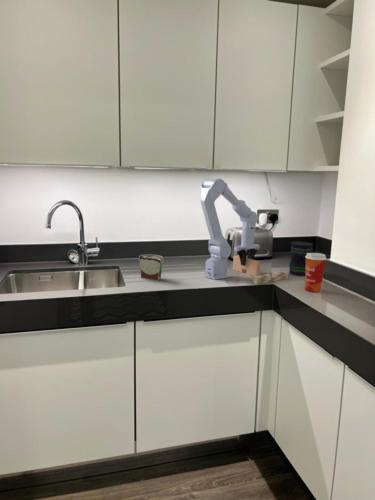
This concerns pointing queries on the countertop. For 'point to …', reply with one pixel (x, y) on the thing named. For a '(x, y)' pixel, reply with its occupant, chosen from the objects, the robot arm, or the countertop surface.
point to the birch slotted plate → (268, 277)
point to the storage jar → (299, 257)
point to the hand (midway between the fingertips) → (246, 264)
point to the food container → (151, 266)
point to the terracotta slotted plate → (247, 266)
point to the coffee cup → (314, 271)
